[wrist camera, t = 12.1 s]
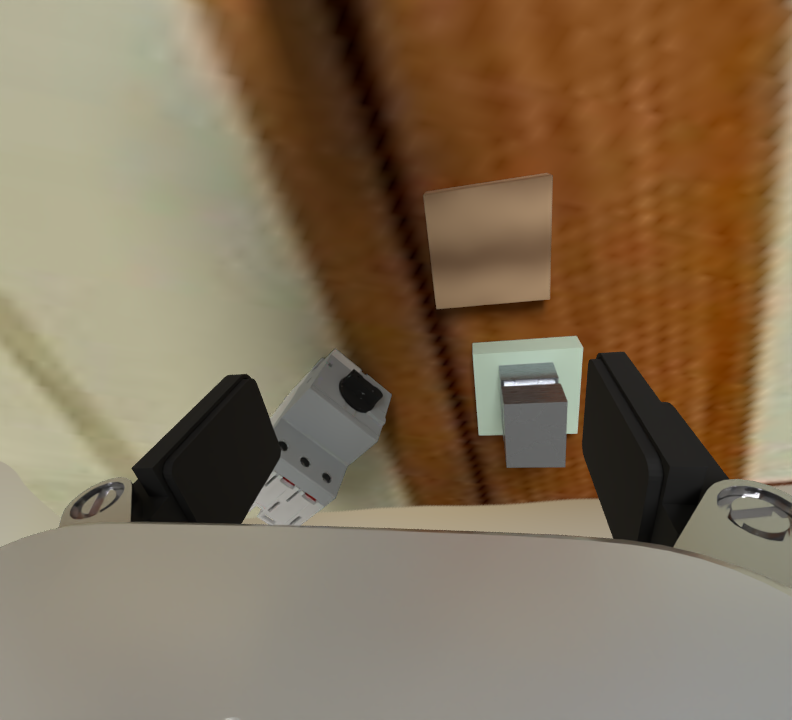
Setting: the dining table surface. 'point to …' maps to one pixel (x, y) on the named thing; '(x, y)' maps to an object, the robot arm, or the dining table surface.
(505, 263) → the stand walnut
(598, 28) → the dining table surface
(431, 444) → the dining table surface
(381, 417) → the circuit breaker
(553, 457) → the block
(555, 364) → the stand green
